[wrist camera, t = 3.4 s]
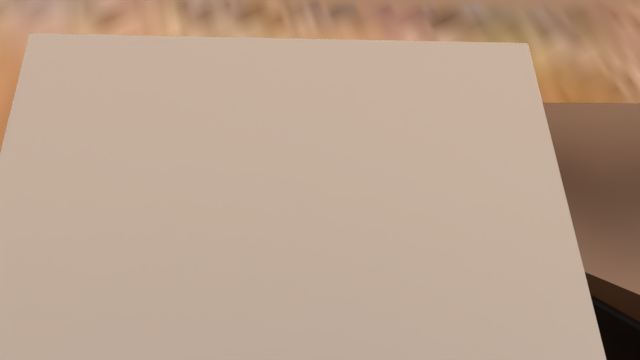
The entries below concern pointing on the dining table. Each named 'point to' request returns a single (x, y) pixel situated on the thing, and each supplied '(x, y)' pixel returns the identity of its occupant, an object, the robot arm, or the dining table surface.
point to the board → (601, 184)
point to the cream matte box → (285, 204)
